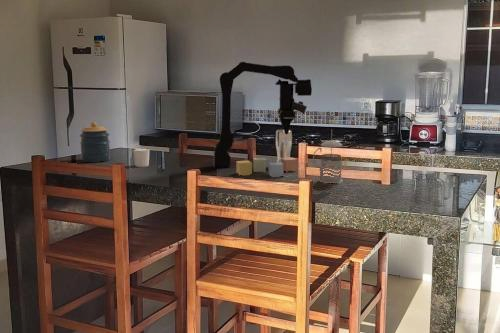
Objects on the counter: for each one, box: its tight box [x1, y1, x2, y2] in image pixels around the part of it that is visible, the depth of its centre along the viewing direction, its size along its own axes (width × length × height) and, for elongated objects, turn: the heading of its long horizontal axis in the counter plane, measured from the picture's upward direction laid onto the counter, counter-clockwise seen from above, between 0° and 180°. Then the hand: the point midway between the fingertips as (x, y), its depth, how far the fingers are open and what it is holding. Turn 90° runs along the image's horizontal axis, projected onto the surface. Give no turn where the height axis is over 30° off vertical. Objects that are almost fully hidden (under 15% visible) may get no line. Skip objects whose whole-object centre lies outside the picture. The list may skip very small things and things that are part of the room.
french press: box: [312, 114, 344, 184], centre depth 207 cm, size 10×12×25 cm
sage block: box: [252, 157, 267, 173], centre depth 229 cm, size 5×5×5 cm
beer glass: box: [275, 128, 293, 162], centre depth 239 cm, size 7×7×15 cm
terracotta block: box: [281, 156, 298, 173], centre depth 229 cm, size 5×5×5 cm
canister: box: [79, 121, 111, 163], centre depth 253 cm, size 13×13×18 cm
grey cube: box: [268, 161, 284, 177], centre depth 218 cm, size 5×5×5 cm
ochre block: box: [235, 160, 253, 176], centre depth 222 cm, size 5×5×5 cm
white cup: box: [132, 148, 150, 168], centre depth 241 cm, size 7×7×7 cm
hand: (285, 132), depth 236 cm, fingers open, 9 cm apart
